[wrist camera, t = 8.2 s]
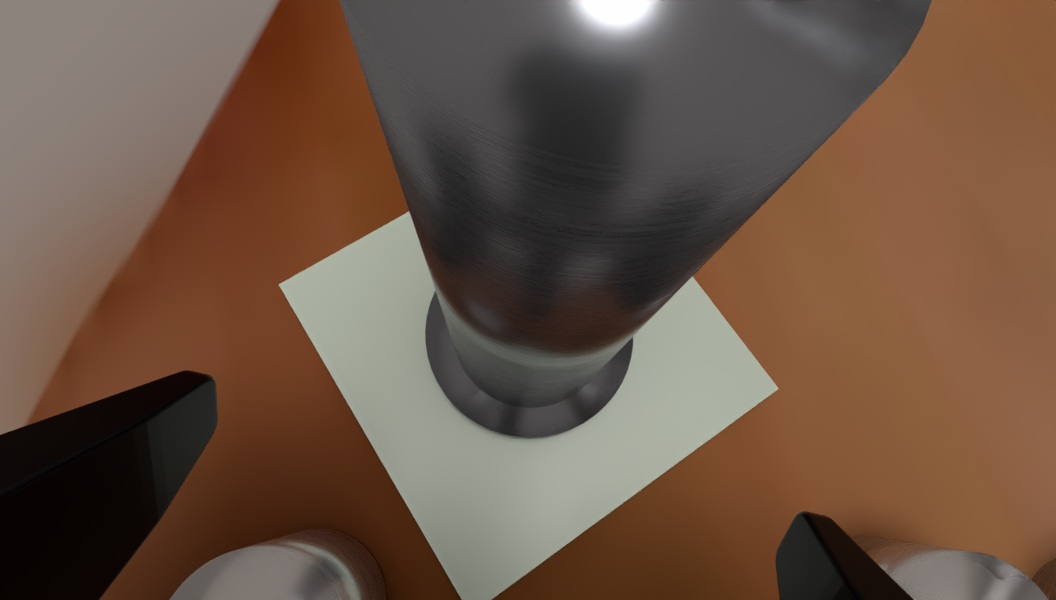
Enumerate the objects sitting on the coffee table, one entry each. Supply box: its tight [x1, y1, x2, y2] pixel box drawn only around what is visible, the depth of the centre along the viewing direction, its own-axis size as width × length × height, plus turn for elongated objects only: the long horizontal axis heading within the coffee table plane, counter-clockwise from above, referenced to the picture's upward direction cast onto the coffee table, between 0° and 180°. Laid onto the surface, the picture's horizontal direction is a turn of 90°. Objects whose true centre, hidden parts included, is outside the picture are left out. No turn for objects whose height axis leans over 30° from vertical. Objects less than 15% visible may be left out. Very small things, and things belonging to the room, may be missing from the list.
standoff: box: [339, 0, 931, 439], centre depth 11 cm, size 6×6×14 cm
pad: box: [279, 212, 778, 600], centre depth 18 cm, size 11×11×1 cm
